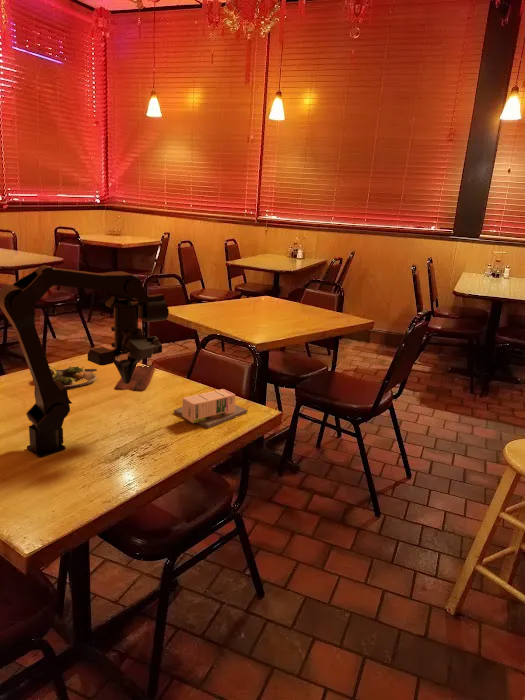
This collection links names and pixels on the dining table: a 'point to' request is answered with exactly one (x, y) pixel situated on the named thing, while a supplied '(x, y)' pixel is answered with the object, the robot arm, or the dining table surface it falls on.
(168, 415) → the dining table surface
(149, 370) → the wooden tablet
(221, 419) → the slate board
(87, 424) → the dining table surface
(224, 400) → the syrup box
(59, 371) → the salad plate
